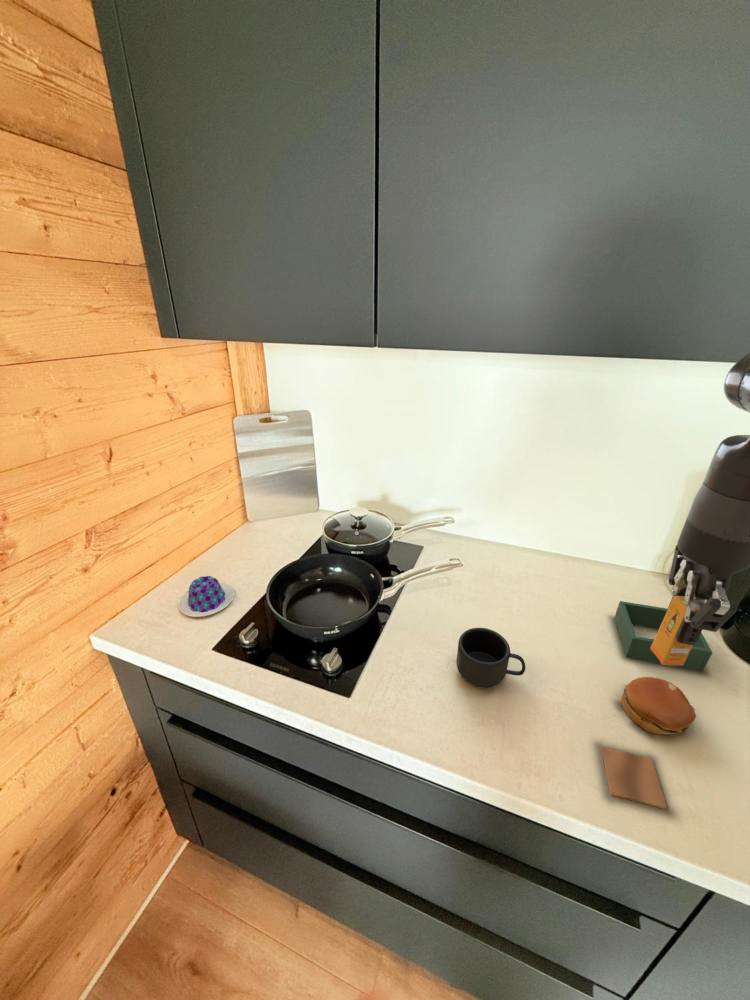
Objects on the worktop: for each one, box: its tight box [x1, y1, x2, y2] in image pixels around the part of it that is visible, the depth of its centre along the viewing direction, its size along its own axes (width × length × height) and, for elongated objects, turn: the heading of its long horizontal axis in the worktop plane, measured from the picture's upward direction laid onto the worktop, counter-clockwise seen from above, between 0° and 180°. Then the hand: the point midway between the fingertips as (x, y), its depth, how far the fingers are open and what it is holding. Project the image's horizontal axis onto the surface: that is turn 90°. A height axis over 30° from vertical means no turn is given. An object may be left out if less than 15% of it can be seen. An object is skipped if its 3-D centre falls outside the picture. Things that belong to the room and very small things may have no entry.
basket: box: [613, 600, 713, 673], centre depth 84 cm, size 13×11×5 cm
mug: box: [455, 627, 526, 689], centre depth 77 cm, size 12×9×7 cm
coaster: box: [600, 746, 668, 810], centre depth 62 cm, size 7×7×1 cm
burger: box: [620, 676, 697, 735], centre depth 70 cm, size 10×9×5 cm
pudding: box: [178, 575, 235, 618], centre depth 96 cm, size 12×12×5 cm
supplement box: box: [651, 596, 701, 666], centre depth 59 cm, size 3×3×10 cm
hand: (679, 629), depth 59 cm, fingers closed on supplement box, 4 cm apart
